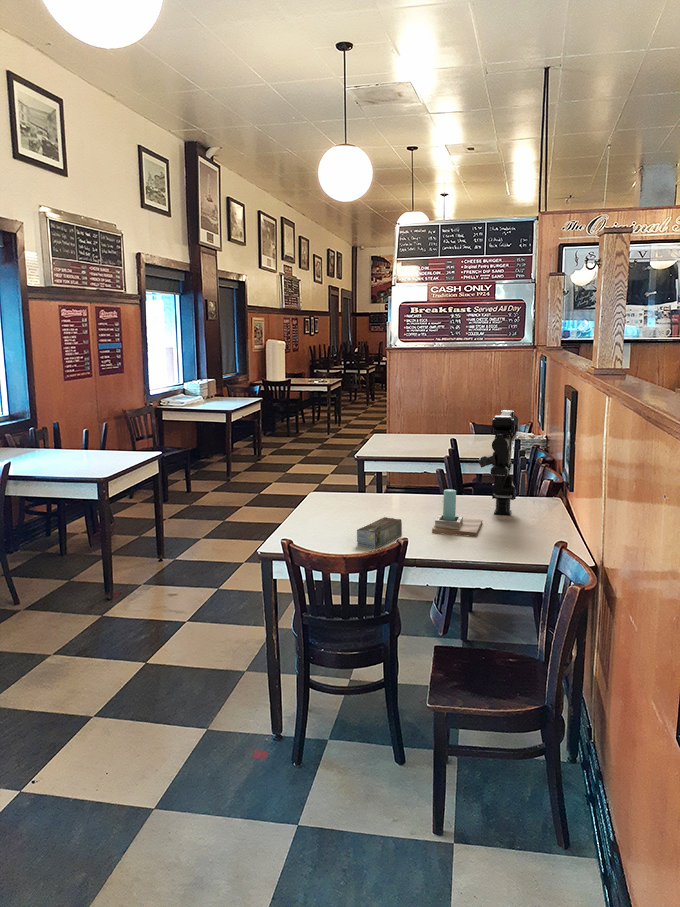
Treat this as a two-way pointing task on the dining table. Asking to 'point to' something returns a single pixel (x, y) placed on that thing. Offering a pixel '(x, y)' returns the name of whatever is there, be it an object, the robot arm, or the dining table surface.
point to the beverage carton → (379, 532)
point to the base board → (457, 526)
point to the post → (449, 505)
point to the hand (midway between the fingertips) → (500, 489)
